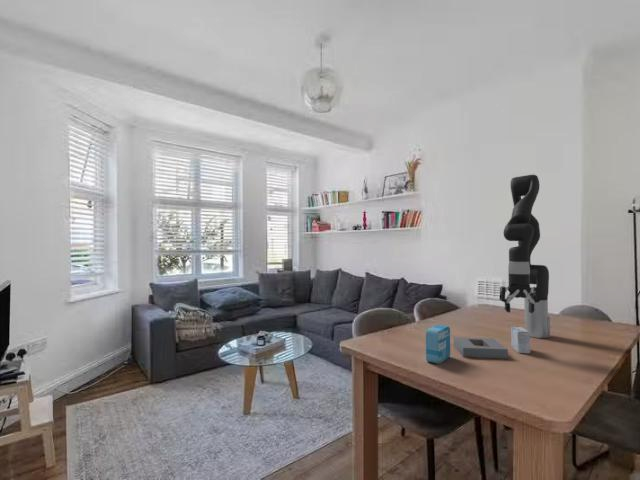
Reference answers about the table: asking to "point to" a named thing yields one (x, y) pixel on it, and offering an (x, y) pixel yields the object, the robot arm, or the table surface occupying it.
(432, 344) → the blue printed box
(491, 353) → the grey slotted block
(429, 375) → the table surface
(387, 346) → the table surface
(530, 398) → the table surface
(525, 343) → the medicine box
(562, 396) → the table surface
